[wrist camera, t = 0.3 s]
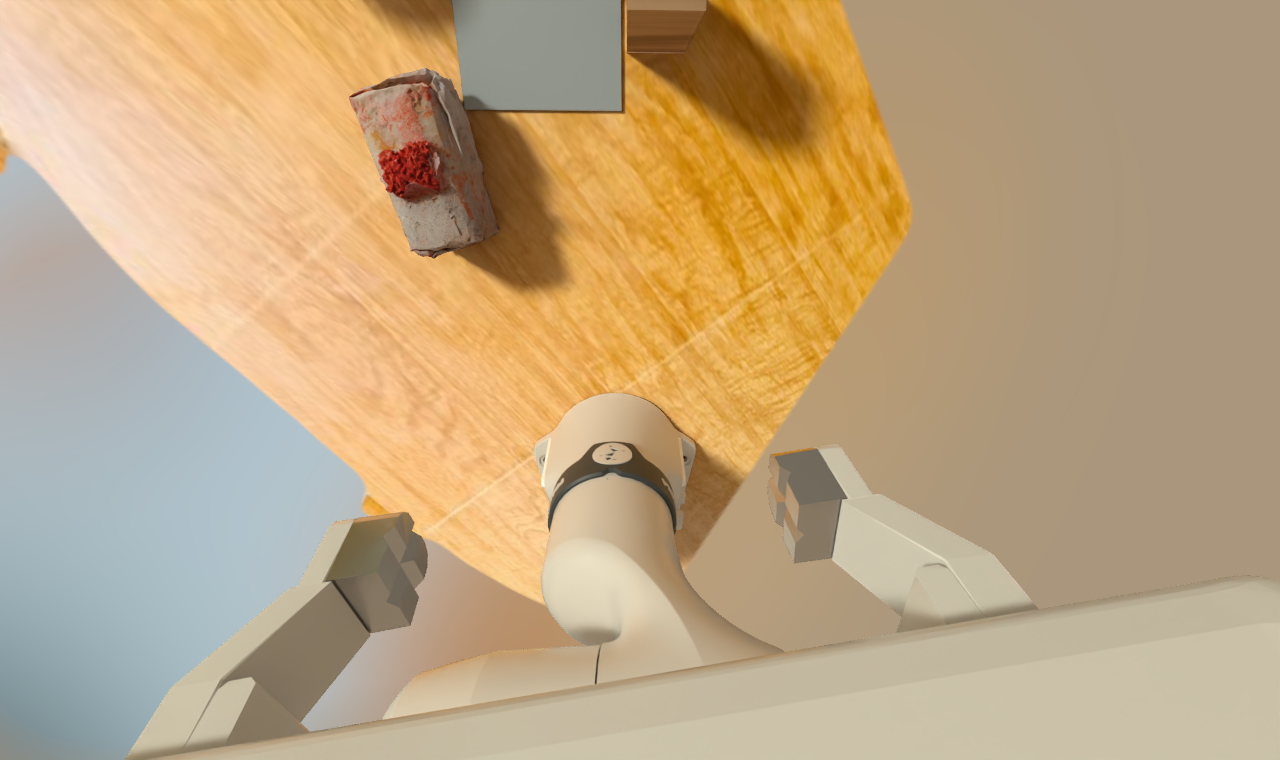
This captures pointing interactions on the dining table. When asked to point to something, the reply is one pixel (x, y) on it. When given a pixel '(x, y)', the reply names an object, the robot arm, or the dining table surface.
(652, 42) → the walnut block
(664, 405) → the dining table surface
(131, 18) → the dining table surface
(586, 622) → the robot arm
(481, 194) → the food item
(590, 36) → the felt mat
